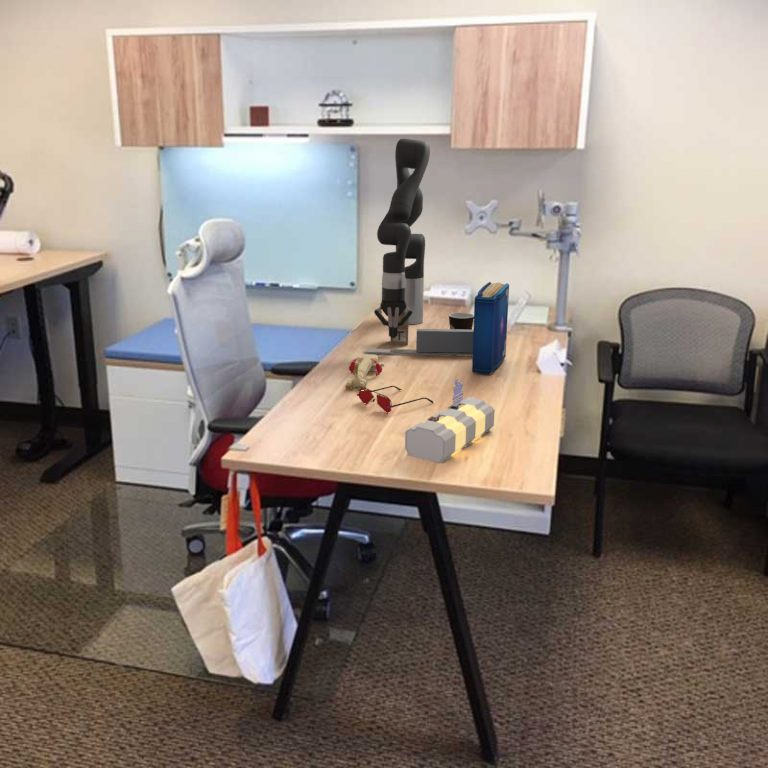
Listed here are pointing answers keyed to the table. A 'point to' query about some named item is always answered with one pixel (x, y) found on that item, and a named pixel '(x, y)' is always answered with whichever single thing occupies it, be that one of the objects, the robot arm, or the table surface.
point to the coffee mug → (461, 321)
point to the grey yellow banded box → (450, 428)
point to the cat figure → (363, 370)
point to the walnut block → (401, 332)
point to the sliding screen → (444, 340)
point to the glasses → (381, 398)
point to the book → (490, 327)
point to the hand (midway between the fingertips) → (392, 337)
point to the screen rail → (409, 352)
